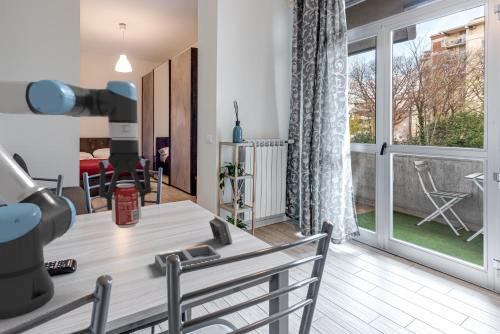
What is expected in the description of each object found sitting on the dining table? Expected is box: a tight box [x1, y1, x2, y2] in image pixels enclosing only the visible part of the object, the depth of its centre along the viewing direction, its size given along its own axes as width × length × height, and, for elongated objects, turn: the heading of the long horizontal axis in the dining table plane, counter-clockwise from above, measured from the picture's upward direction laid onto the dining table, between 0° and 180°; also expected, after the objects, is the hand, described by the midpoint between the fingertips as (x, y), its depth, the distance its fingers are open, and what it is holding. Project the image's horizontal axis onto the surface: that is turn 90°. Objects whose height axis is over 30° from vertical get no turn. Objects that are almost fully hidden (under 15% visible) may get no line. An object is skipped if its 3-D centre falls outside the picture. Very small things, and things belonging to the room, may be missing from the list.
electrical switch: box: [208, 215, 233, 246], centre depth 118 cm, size 9×5×9 cm, turn 32°
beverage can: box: [113, 182, 140, 229], centre depth 89 cm, size 6×6×12 cm
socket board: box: [154, 244, 221, 276], centre depth 100 cm, size 19×9×3 cm, turn 118°
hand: (126, 219), depth 89 cm, fingers closed on beverage can, 6 cm apart
